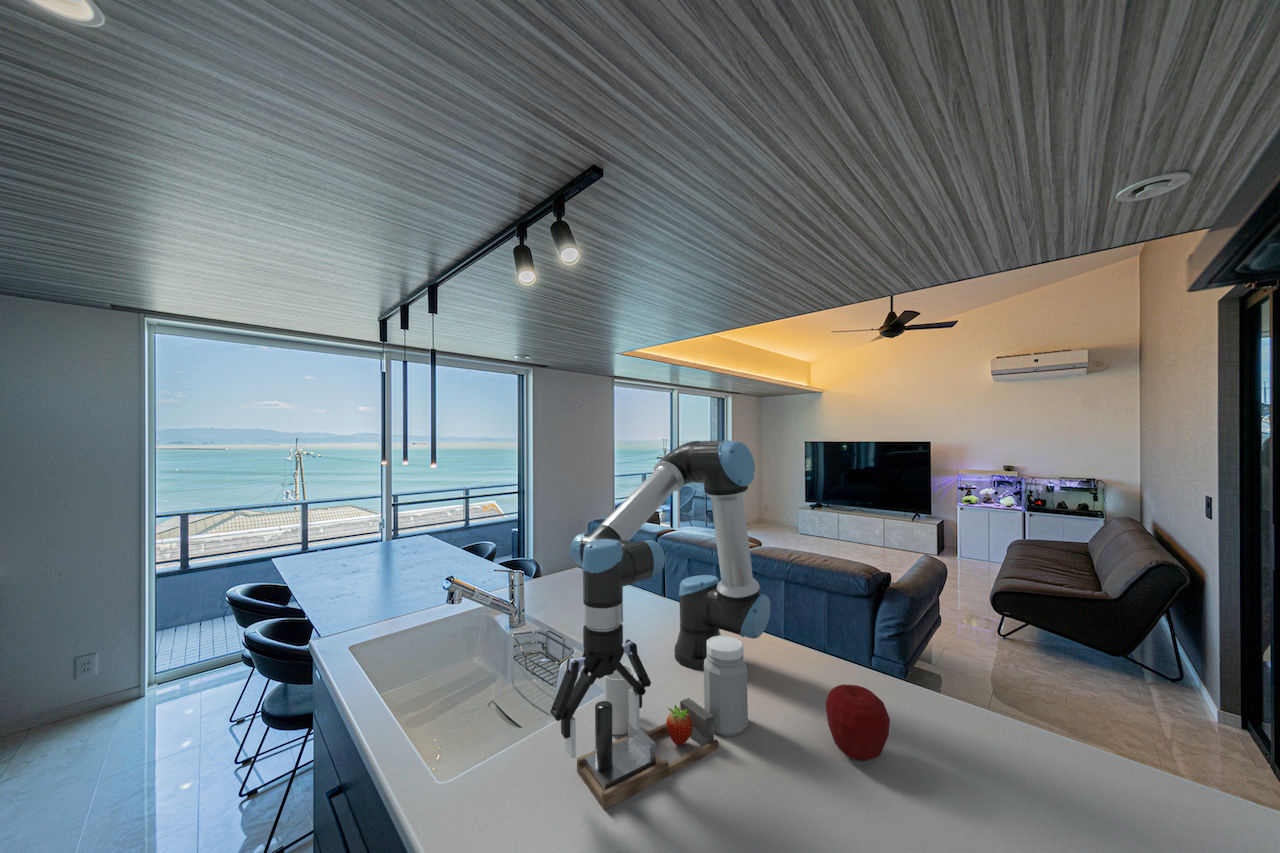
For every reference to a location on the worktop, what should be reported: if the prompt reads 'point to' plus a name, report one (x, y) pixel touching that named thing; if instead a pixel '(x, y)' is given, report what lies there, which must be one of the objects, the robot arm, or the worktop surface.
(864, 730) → the apple
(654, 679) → the worktop surface
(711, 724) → the base
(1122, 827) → the worktop surface
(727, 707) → the jar
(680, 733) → the fruit
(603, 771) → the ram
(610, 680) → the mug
